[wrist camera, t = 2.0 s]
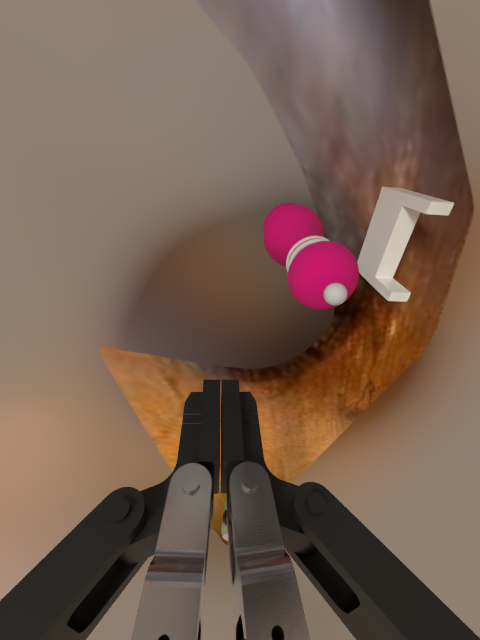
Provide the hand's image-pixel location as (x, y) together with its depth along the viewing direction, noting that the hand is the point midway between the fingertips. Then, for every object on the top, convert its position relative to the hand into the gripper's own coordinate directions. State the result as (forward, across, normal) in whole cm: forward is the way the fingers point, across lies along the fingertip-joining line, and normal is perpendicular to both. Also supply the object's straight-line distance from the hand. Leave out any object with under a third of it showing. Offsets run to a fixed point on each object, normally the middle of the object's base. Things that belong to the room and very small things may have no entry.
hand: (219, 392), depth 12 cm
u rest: (+29, -22, 0) cm, 36 cm away
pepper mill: (+29, -9, 0) cm, 30 cm away
